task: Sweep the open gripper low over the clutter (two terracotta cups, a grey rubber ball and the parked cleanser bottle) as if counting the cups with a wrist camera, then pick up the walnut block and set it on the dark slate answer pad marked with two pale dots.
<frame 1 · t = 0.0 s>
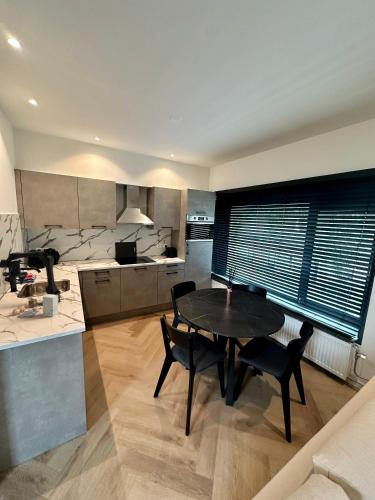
hand: (17, 286, 171), 15 cm above the countertop, fingers open, 9 cm apart
cup b: (16, 314, 153), on the countertop
walnut block: (33, 307, 167), on the countertop
grey ball: (34, 310, 160), on the countertop
cup a: (21, 311, 158), on the countertop
answer pad: (28, 314, 154), on the countertop
skincare box: (51, 315, 155), on the countertop
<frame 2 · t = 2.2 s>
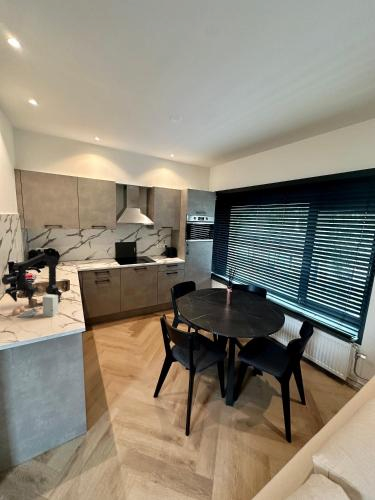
hand: (23, 301, 150), 11 cm above the countertop, fingers open, 9 cm apart
nothing on the countertop moved.
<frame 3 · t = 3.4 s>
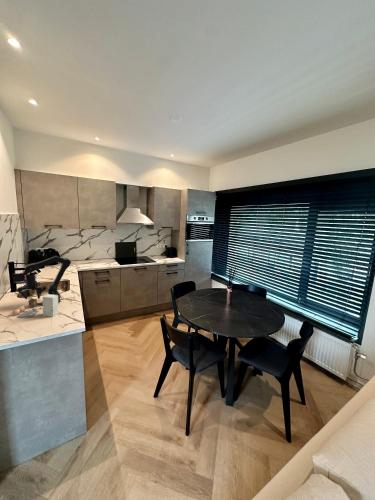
hand: (32, 299, 166), 6 cm above the countertop, fingers open, 9 cm apart
nothing on the countertop moved.
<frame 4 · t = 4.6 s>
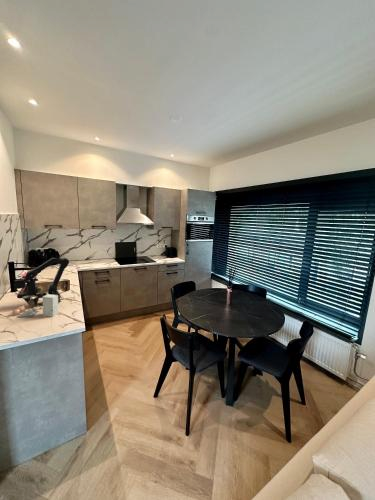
hand: (33, 305, 167), 1 cm above the countertop, fingers closed on walnut block, 4 cm apart
walnut block: (33, 306, 167), on the countertop, touching gripper
everything else where it was.
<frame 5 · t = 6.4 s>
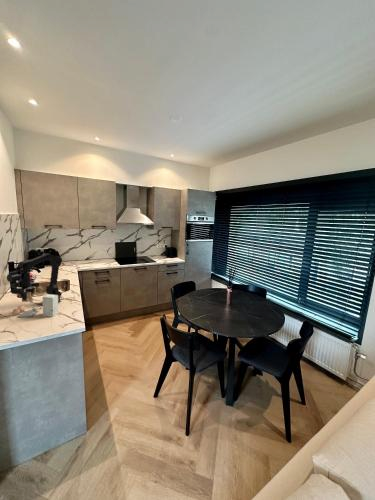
hand: (26, 299, 154), 11 cm above the countertop, fingers closed on walnut block, 4 cm apart
walnut block: (26, 300, 154), point 10 cm above the countertop, touching gripper
everything else where it was.
when the fingers open (3 cm above the countertop, at t = 8.3 s): walnut block drops 1 cm, resting on answer pad.
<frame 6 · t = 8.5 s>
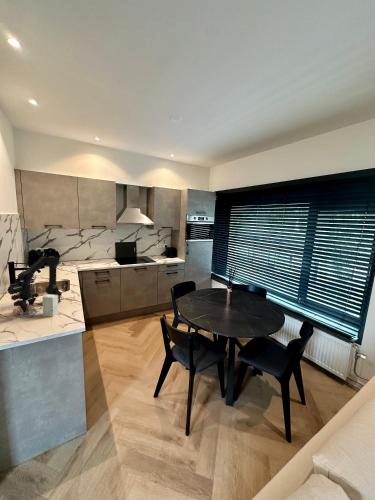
hand: (27, 310, 153), 3 cm above the countertop, fingers open, 6 cm apart
walnut block: (28, 313, 154), point 1 cm above the countertop, touching answer pad
everything else where it was.
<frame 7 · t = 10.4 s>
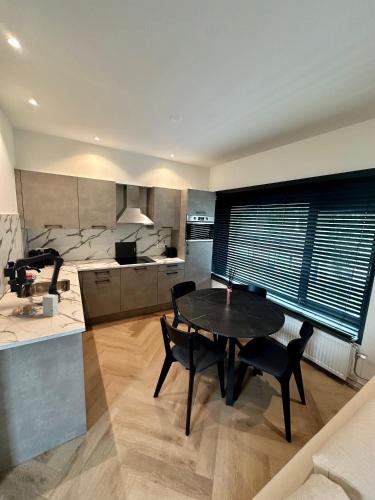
hand: (23, 294, 160), 12 cm above the countertop, fingers open, 9 cm apart
nothing on the countertop moved.
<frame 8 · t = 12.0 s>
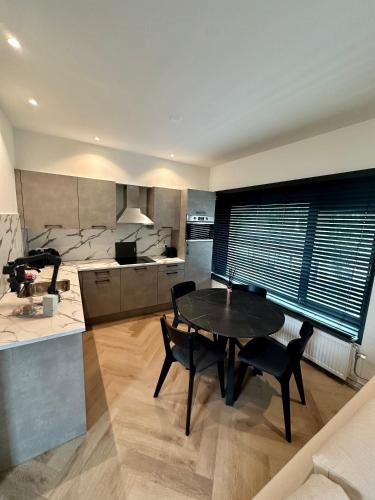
hand: (22, 292, 164), 12 cm above the countertop, fingers open, 9 cm apart
nothing on the countertop moved.
at the end: walnut block inside the target area on the answer pad (0.1 cm from its centre), point 0.8 cm above the answer pad's base; walnut block tilted 0°; the gripper is holding nothing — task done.
